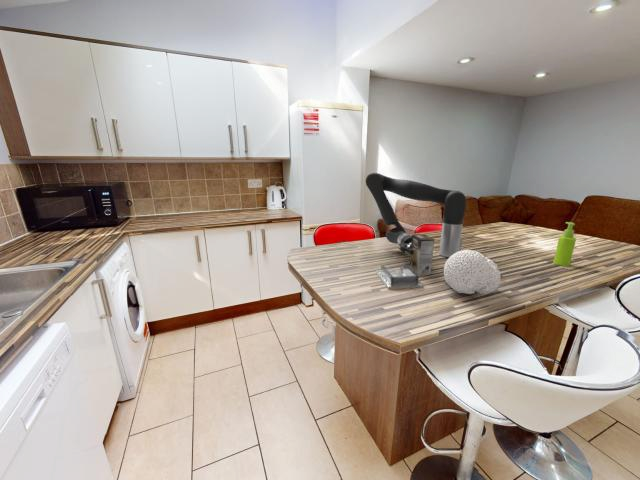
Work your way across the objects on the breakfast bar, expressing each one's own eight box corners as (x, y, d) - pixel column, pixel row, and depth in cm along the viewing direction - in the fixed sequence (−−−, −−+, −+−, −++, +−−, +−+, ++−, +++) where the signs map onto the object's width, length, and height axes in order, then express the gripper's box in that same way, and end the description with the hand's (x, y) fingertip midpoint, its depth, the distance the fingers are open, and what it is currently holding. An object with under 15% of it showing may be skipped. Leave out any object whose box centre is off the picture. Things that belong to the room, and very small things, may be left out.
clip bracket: (406, 271, 122) (406, 262, 121) (423, 287, 106) (424, 277, 105) (375, 272, 121) (376, 263, 120) (388, 289, 105) (388, 279, 104)
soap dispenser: (565, 262, 132) (576, 221, 126) (571, 266, 126) (582, 224, 120) (550, 260, 134) (560, 220, 129) (555, 265, 128) (565, 223, 123)
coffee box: (408, 267, 126) (411, 234, 122) (421, 267, 127) (425, 233, 122) (416, 275, 118) (420, 239, 113) (431, 274, 118) (435, 238, 114)
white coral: (467, 283, 89) (472, 238, 94) (429, 287, 105) (435, 249, 110) (511, 303, 94) (513, 259, 99) (468, 304, 110) (472, 266, 115)
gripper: (394, 235, 133) (406, 244, 117) (422, 234, 134) (438, 243, 118) (392, 249, 135) (405, 261, 119) (420, 249, 136) (436, 260, 120)
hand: (422, 252), depth 119 cm, fingers open, 8 cm apart
